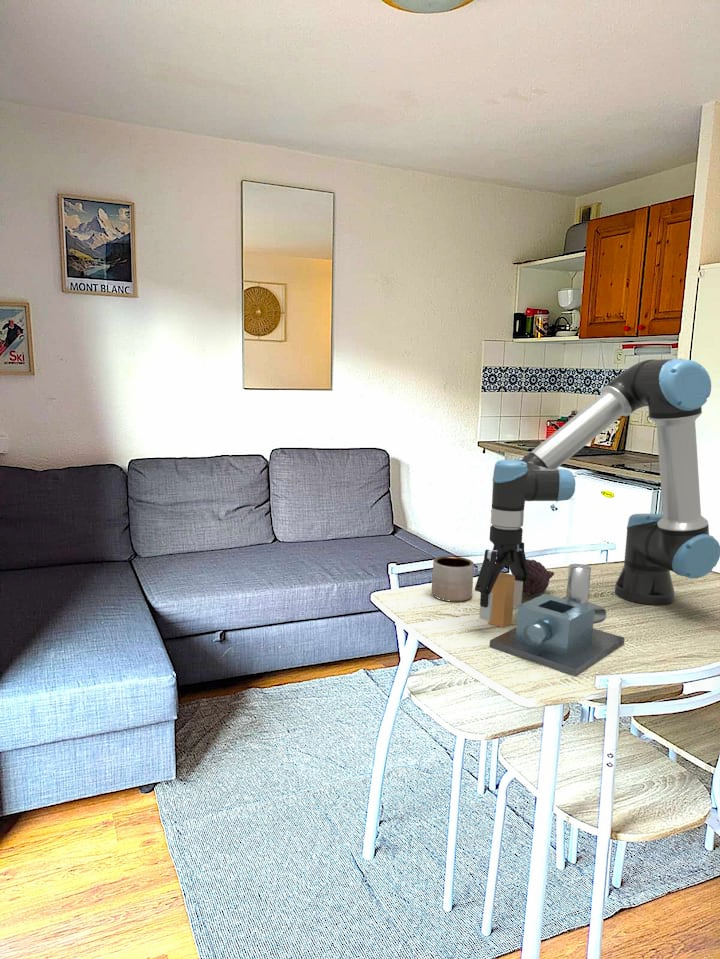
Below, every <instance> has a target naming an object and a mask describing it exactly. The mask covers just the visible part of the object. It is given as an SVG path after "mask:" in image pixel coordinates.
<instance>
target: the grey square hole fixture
mask: <svg viewBox="0 0 720 959" xmlns="http://www.w3.org/2000/svg"><path fill="white" fill-rule="evenodd" d="M591 570H592V567H591V566H588V565H586V564H582V563H571V564H569V565H568V571H567V574H568V575H567V584H566V596H565V597H566V598H562V597H558V596H554V595H551V594H547V593H544V594H540V595H538V596H537V597H534V598H532V599H530V600H528V601H526V602H523V603H521V605H519V606H518V607H517V617H516V627H514V628H512V629H510V630H508V631H506V632H504V633H502V634H500V635H498V636H495V637H493V638H492V639H490V640H489V647H490V648H492V649H495V650H499V651H501V652H504V653H507V654H510V655H512V656H516V657H519V658H520V659H521V658H522V659H525V660H527V661H530V662H533V663H535V662H536V663H537V665H538V664H539V665H542V666H545V667H548V668H551V669H552V670H556V671H559V672H562V673H565V674H567V675H570V676H573V677H577V676H578V675H579V674H581V673H583V671H585V670H587V669H588V668H590V667H591V666H593V665H594V664H596V663H597V662H600V660H602V659H604V658H605V657H606V656H608V655H610V654H611V653H612V652H613V651H615V650H617V649H619V648H620V647H622V646H623V645H624V644H625V637H624V636H621V635H616V634H614V633H610V632H608V631H603V630H600V629H596V628H594V624H600V623H602V622H604V621H605V620H606V619H607V611H606V609H605V608H604V607H603V606H600V605H598V604H596V603H593V602H589V595H590V583H591ZM536 663H535V664H536Z"/></svg>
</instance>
